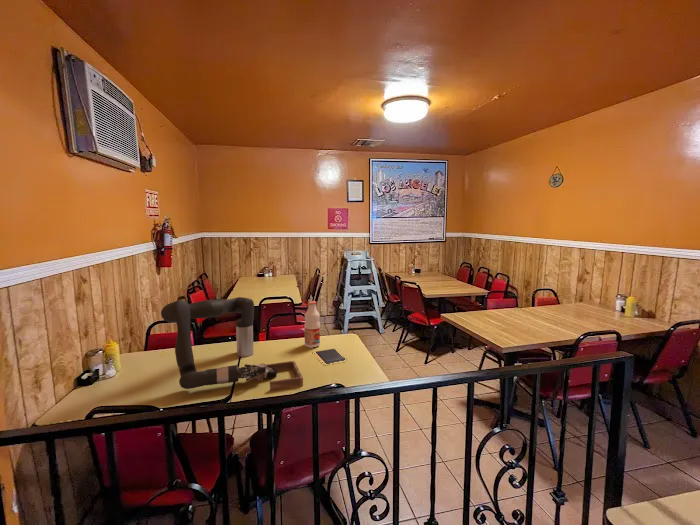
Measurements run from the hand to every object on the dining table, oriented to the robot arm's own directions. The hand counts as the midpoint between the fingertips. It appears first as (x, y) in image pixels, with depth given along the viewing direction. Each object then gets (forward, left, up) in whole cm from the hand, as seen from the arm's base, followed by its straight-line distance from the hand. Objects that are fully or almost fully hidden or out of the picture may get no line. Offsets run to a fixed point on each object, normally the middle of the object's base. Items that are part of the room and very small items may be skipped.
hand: (265, 369), depth 165 cm
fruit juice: (-38, +33, -6) cm, 51 cm away
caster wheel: (-5, 0, -6) cm, 8 cm away
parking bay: (0, +8, -6) cm, 10 cm away
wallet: (-18, +38, -7) cm, 43 cm away
